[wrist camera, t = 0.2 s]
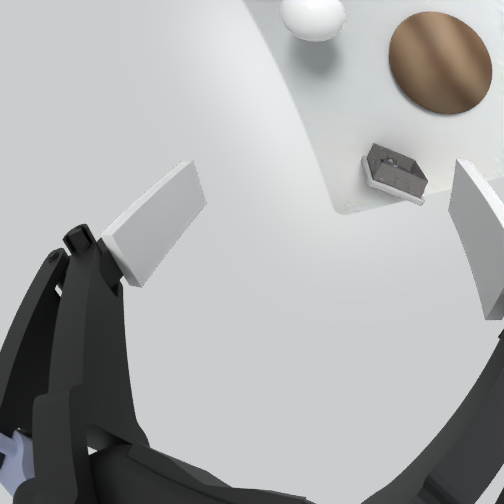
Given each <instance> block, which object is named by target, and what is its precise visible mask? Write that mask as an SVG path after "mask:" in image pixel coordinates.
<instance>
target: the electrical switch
mask: <svg viewBox="0 0 504 504" xmlns="http://www.w3.org/2000/svg"><path fill="white" fill-rule="evenodd" d="M387 155H388V157H387ZM386 157H387V159H386ZM390 158H392V159H394V161H393V164H392V163H391V162H390V161H388V160H389V159H390ZM385 159H386V160H385ZM396 160H397V162H396ZM361 161H362V165H363V169H364V173H365V177H366V181H367V184H368V185H369V186H371V187H374V188H376V189H379V190H382V191H384V192H387V193H390V194H392V195H395V196H398V197H400V198H403V199H405V200H408V201H410V202H413V203H415V204H417V205H420V206H421V205H423V203H424V198H423V196H422V194H423V193H424V189H425V187H426V185H427V183H428V180H427V179H426V177H425V175H424V174H423V172H422V171H421V169H420V167H419V166H418V164H417V163H416V161H414V160H413V159H411V158H409V157H406V156H404V155H402V154H399V153H397V152H394V151H392V150H389V149H387V148H384V147H382V146H379V145H377V144H374V143H373V146H372V148H371V150H370V152H369V155H368V156H363V157H362V160H361ZM413 162H414V163H413ZM395 163H396V164H395ZM396 165H397V166H396Z"/></svg>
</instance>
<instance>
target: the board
mask: <svg viewBox="0 0 504 504" xmlns="http://www.w3.org/2000/svg"><path fill="white" fill-rule="evenodd" d="M389 58H390V64H391V68H392V71H393V73H394V76H395V78H396V80H397V82H398V84H399V85H400V87H401V88H402V90H403V91H404V92H405V93H406V94H407V95H408V96H409V97H410V98H411V99H412V100H413V101H414V102H416V103H417V104H419V105H420V106H422V107H424V108H426V109H428V110H431V111H434V112H438V113H443V114H456V113H461V112H465V111H467V110H470V109H471V108H473V107H475V106H476V105H477V104H479V103H480V102H481V101H482V99H483V98H484V97H485V95H486V94H487V92H488V90H489V87H490V84H491V80H492V64H491V59H490V56H489V53H488V51H487V48H486V46H485V45H484V43H483V41H482V40H481V38H480V37H479V36H478V35H477V33H476V32H475V31H474V30H473V29H471V28H470V27H469V26H468V25H466V24H465V23H464V22H462V21H460V20H459V19H457V18H455V17H452V16H450V15H447V14H444V13H439V12H422V13H418V14H415V15H412V16H410V17H408V18H407V19H406V20H404V21H403V22H402V23H401V24H400V25H399V26H398V27H397V29H396V30H395V32H394V34H393V36H392V39H391V42H390V48H389Z"/></svg>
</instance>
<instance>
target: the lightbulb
mask: <svg viewBox="0 0 504 504" xmlns="http://www.w3.org/2000/svg"><path fill="white" fill-rule="evenodd" d="M280 17H281V20H282V23H283V24H284V26H285V27H286V29H287V30H288V31H289V32H290V33H292V34H293V35H295V36H296V37H298V38H300V39H303V40H307V41H313V42H320V41H325V40H329V39H331V38H333V37H335V36H336V35H338V34H339V33H340V32H341V30H342V29H343V27H344V25H345V21H346V13H345V9H344V6H343V5H342V3H341V1H340V0H283V1H282V3H281V6H280Z"/></svg>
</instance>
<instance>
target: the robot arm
mask: <svg viewBox="0 0 504 504" xmlns="http://www.w3.org/2000/svg"><path fill="white" fill-rule="evenodd" d="M206 204H207V203H206V201H205V197H204V194H203V191H202V187H201V184H200V181H199V178H198V175H197V171H196V168H195V165H194V161H193V160H190V161H182V162H180V163H179V164H178V165H177V166H175V167H174V168H173V169H172V170H171V171H169V172H168V173H167V174H166V175H164V176H163V177H162V178H161V179H160V180H159V181H157V182H156V183H155V184H154V185H153V186H152V187H150V188H149V189H148V190H147V191H146V192H145V193H144V194H143V195H141V196H140V197H139V198H138V199H137V200H136V201H135V202H134V203H133V204H132V205H131V206H129V208H127V209H126V210H125V211H124V212H123V213H122V214H121V215H120V216H119V217H118V218H117V219H116V220H115V221H114V222H113V223H112V224H111V225H110V226H109V227H108V228H107V229H106V230H105V231H104V232H103V233H102V234H101V235H100V236H101V238H100V239H99V240H98V241H97V242H96V240H95V238H94V237H93V235H92V233H91V231H90V229H89V227H88V226H87V224H81V225H78V226H76V227H75V228H73V229H72V230H70V231H69V232H68V233H67V234H66V235H65V236H64V238H63V241H64V243H65V244H66V246H67V248H68V249H69V251H70V253H71V254H72V255H71V256H68V255H67V253H66V252H65V250H64V249H63V248H59V249H57V250H54V251H52V252H51V253H50V254H49V255H48V257H47V258H46V259H45V261H44V262H43V264H42V266H41V267H40V269H39V271H38V273H37V274H36V276H35V278H34V280H33V282H32V283H31V285H30V287H29V289H28V291H27V293H26V295H25V297H24V299H23V301H22V303H21V305H20V307H19V309H18V311H17V313H16V316H15V318H14V320H13V322H12V325H11V327H10V329H9V331H8V334H7V336H6V339H5V341H4V344H3V346H2V349H1V352H0V482H1V483H2V485H3V486H4V487H5V489H6V490H7V491H8V492H9V493H10V495H12V497H13V504H315V503H313V502H311V501H309V500H306V497H301V496H296V495H290V494H285V493H280V492H275V491H270V490H259V489H243V488H232V487H231V486H229V485H227V484H226V483H224V482H223V481H221V480H219V479H218V478H216V477H215V476H213V475H212V474H210V473H209V472H207V471H205V470H202V469H200V468H198V467H195V466H192V465H190V464H188V463H185V462H182V461H181V460H178V459H176V458H173V457H171V456H168V455H166V454H163V453H161V452H159V451H156V450H154V449H152V448H150V446H149V442H148V439H147V437H146V435H145V433H144V431H143V430H142V429H141V427H140V426H139V424H138V422H137V420H136V416H135V411H134V405H133V398H132V392H131V385H130V377H129V370H128V360H127V350H126V339H125V325H124V306H123V286H122V284H121V282H120V279H121V277H122V276H123V275H124V277H125V279H126V280H127V281H128V283H129V285H132V286H136V287H142V286H143V285H144V284H145V282H146V281H147V279H148V278H149V277H150V275H151V274H152V273H153V271H154V270H155V268H156V267H157V266H158V264H159V263H160V262H161V261H162V259H163V258H164V257H165V255H166V254H167V253H168V251H169V250H170V249H171V248H172V246H173V245H174V244H175V242H176V241H177V240H178V239H179V237H180V236H181V235H182V233H183V232H184V231H185V230H186V228H187V227H188V226H189V225H190V223H191V222H192V221H193V220H194V218H195V217H196V216H197V215H198V213H199V212H200V211H201V210H202V209H203V207H204V206H205V205H206ZM449 213H450V215H451V218H452V220H453V222H454V224H455V227H456V229H457V232H458V234H459V237H460V239H461V242H462V244H463V247H464V250H465V253H466V255H467V258H468V261H469V264H470V266H471V270H472V273H473V276H474V280H475V283H476V286H477V289H478V293H479V296H480V301H481V304H482V309H483V312H484V317H485V320H502V318H503V317H504V204H503V203H502V201H501V200H500V198H499V197H498V196H497V194H496V193H495V192H494V190H493V189H492V188H491V186H490V185H489V184H488V182H487V181H486V180H485V179H484V177H483V176H482V175H481V174H480V172H479V171H478V170H477V169H476V167H475V166H474V165H473V164H472V163H471V162H470V161H467V160H460V159H456V166H455V174H454V181H453V187H452V193H451V199H450V205H449ZM56 285H58V287H59V288H60V289H61V291H62V295H61V297H60V296H59V294H58V293H57V292H56V290H55V287H56ZM498 338H500V340H499V342H498V344H497V346H496V348H495V350H494V352H493V354H492V355H491V357H490V359H489V361H488V363H487V365H486V366H485V368H484V370H483V371H482V373H481V375H480V376H479V378H478V379H477V381H476V383H475V384H474V386H473V387H472V389H471V390H470V392H469V393H468V395H467V396H466V398H465V399H464V401H463V402H462V403H461V405H460V406H459V408H458V409H457V410H456V412H455V413H454V414H453V416H452V417H451V418H450V420H449V421H448V422H447V423H446V425H445V426H444V427H443V428H442V430H441V431H440V432H439V433H438V434H437V436H436V437H435V438H434V439H433V440H432V441H431V443H430V444H429V445H428V446H427V447H426V448H425V449H424V450H423V451H422V452H421V454H420V455H419V456H418V457H417V458H416V459H415V460H414V461H413V462H412V463H411V464H410V465H409V466H408V467H407V468H406V469H405V470H404V471H403V472H402V473H401V474H400V475H398V476H397V477H396V478H395V479H394V480H393V481H392V482H391V483H389V484H388V485H387V486H386V487H384V488H382V489H381V490H379V491H378V492H376V493H375V494H373V495H372V496H370V497H369V498H368V499H366V500H365V501H364V502H362V503H361V504H475V502H476V501H477V500H478V499H479V497H480V496H481V494H482V493H483V492H484V491H485V489H486V488H487V487H488V486H489V484H490V483H491V481H492V480H493V479H494V477H495V476H496V474H497V473H498V471H499V470H500V468H501V467H502V465H503V464H504V329H503V331H502V332H501V334H500V335H499V336H498ZM17 428H20V430H19V429H17ZM87 446H88V447H91V448H92V449H95V450H97V452H95V453H93V454H91V455H89V454H88V447H87ZM495 504H504V488H503V490H502V492H501V494H500V495H499V497H498V499H497V501H496V503H495Z"/></svg>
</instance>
